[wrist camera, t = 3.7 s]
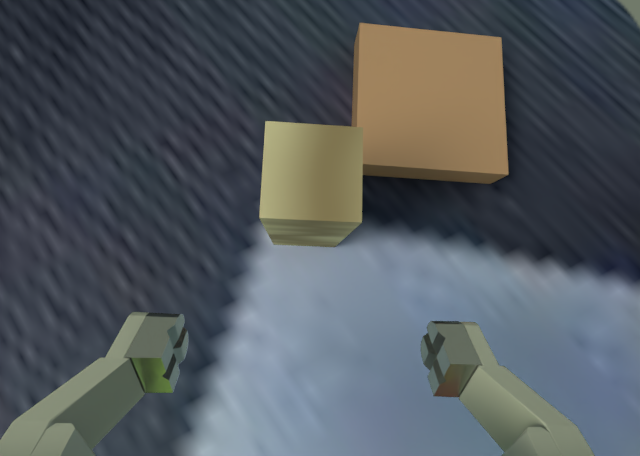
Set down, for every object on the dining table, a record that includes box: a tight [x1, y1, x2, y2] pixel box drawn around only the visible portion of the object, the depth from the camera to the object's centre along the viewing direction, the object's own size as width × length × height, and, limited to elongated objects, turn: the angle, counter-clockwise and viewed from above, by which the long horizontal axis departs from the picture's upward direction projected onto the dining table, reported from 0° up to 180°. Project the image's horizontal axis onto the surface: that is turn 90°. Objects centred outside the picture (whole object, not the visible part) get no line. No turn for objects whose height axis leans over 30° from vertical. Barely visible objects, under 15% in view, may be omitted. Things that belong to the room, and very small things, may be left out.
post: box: [259, 121, 363, 247], centre depth 18 cm, size 4×4×9 cm
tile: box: [352, 23, 509, 184], centre depth 23 cm, size 10×10×2 cm
